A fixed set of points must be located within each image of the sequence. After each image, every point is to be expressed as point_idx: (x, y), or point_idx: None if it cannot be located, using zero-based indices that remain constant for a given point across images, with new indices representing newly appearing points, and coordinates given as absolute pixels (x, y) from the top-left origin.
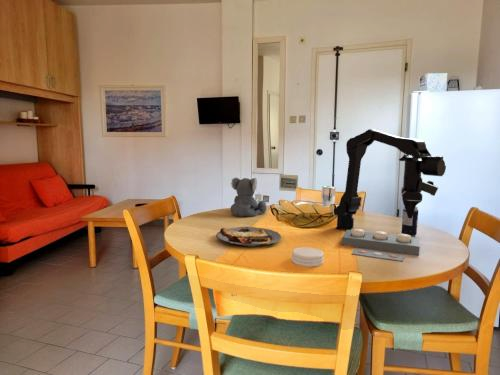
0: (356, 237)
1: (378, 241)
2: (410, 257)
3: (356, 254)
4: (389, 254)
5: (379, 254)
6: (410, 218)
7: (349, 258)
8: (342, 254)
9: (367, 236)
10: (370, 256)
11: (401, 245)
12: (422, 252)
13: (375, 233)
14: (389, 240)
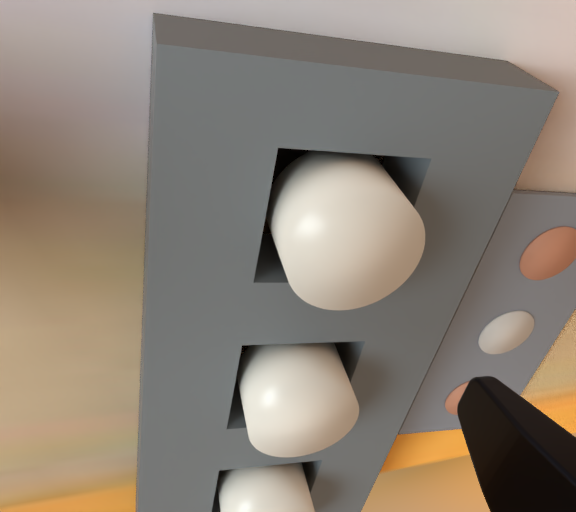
0: (341, 486)
1: (419, 382)
2: (559, 139)
3: None
4: (516, 274)
5: (523, 323)
6: (480, 386)
7: (557, 416)
8: None
9: None
10: (544, 354)
11: (482, 237)
12: (417, 6)
13: (327, 443)
14: (377, 326)
